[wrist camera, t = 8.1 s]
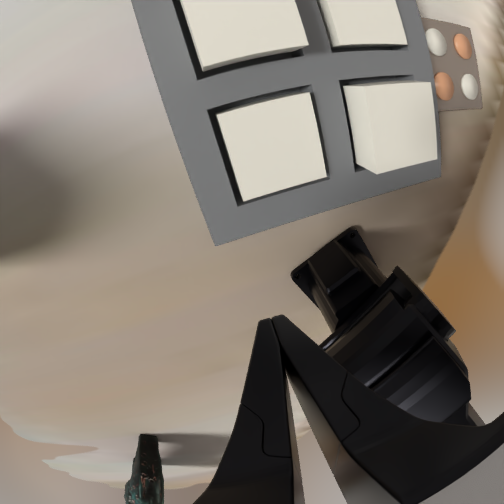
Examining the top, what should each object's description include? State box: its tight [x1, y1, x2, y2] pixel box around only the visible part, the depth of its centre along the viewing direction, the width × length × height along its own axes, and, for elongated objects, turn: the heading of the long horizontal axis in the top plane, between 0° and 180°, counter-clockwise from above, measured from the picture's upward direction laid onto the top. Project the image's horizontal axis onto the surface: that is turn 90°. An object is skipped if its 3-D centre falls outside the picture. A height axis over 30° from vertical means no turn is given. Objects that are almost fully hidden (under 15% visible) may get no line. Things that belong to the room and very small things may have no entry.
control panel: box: [131, 0, 441, 246], centre depth 14 cm, size 17×17×3 cm
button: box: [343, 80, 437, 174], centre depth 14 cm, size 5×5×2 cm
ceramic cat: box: [124, 434, 164, 504], centre depth 30 cm, size 20×6×20 cm, turn 157°
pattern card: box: [421, 17, 482, 111], centre depth 15 cm, size 8×8×1 cm
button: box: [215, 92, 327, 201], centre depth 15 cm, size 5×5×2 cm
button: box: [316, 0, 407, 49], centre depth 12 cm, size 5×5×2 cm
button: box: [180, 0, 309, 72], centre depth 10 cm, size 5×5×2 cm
